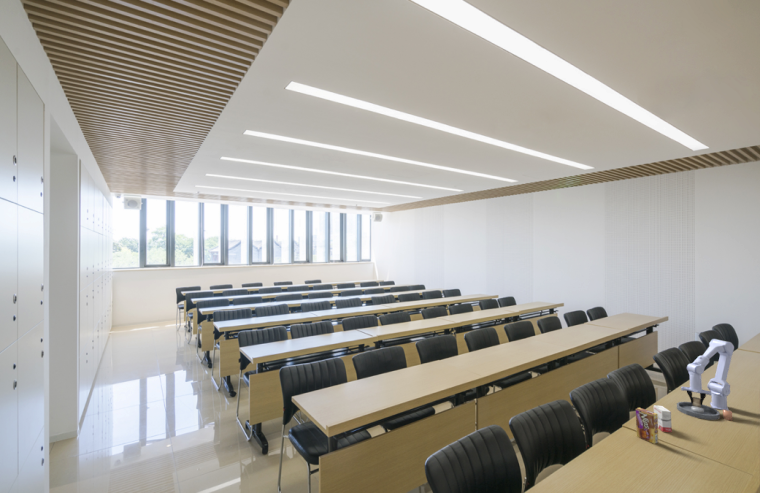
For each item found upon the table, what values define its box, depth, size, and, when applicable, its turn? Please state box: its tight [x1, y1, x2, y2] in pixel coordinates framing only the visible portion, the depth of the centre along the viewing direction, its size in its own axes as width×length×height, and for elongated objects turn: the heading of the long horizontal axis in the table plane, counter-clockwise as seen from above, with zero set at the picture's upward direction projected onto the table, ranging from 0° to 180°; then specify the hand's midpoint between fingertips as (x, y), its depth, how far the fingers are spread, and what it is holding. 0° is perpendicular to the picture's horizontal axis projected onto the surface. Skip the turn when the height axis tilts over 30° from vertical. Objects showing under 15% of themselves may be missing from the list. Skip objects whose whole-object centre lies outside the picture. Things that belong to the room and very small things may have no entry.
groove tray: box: [676, 401, 721, 421], centre depth 218 cm, size 20×20×3 cm
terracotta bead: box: [722, 409, 733, 422], centre depth 209 cm, size 4×4×5 cm
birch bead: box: [692, 396, 701, 407], centre depth 223 cm, size 4×4×5 cm
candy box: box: [635, 407, 659, 445], centre depth 187 cm, size 9×4×15 cm, turn 26°
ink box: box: [653, 404, 673, 433], centre depth 198 cm, size 9×5×12 cm, turn 168°
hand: (696, 403), depth 223 cm, fingers closed on birch bead, 4 cm apart
